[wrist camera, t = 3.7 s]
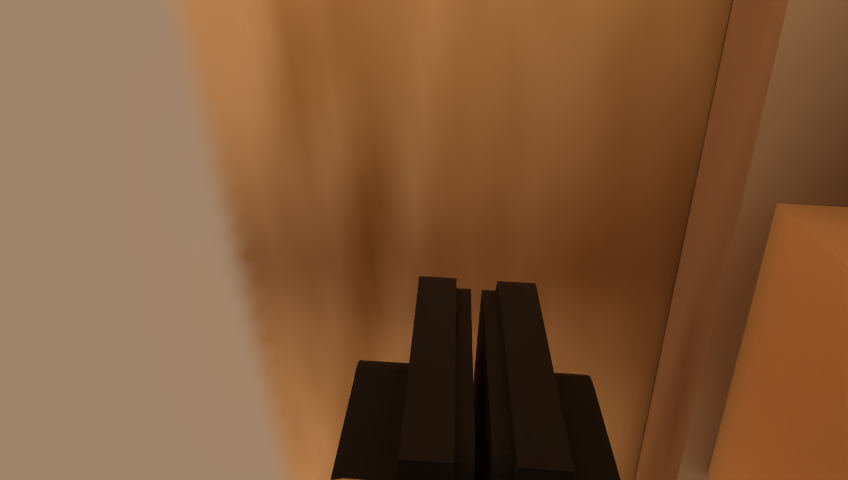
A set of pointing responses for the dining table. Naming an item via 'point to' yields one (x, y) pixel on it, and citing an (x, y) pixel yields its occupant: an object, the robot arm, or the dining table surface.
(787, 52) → the box
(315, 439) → the dining table surface
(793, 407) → the orange block
